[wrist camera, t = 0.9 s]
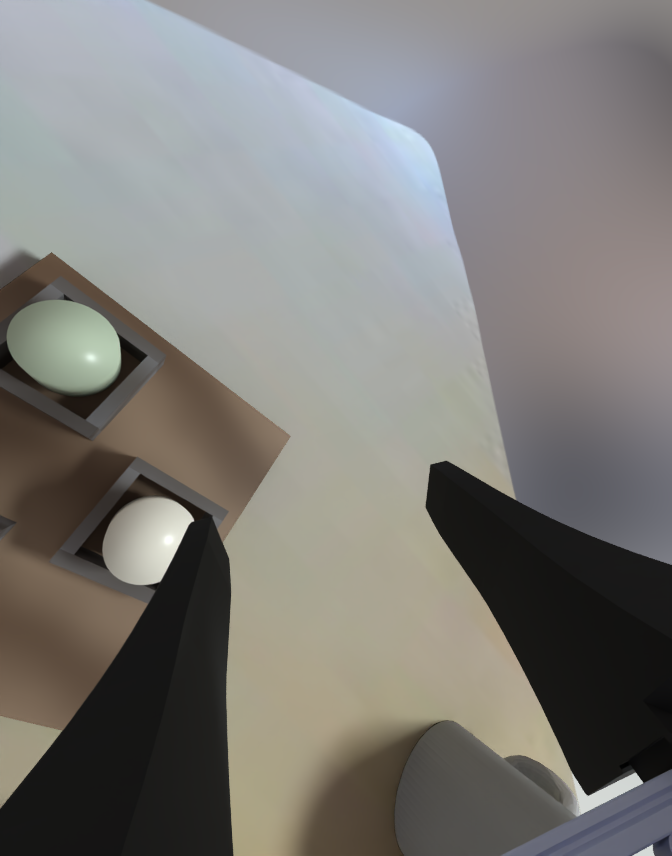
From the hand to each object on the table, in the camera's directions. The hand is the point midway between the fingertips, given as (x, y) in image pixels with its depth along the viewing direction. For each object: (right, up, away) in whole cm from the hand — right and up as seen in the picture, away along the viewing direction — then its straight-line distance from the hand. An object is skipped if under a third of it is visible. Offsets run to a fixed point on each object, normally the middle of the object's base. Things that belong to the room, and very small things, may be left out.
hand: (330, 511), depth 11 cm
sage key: (-12, +6, +5) cm, 14 cm away
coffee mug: (+10, -29, +19) cm, 36 cm away
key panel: (-14, 0, +7) cm, 15 cm away
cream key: (-9, -3, +6) cm, 11 cm away
